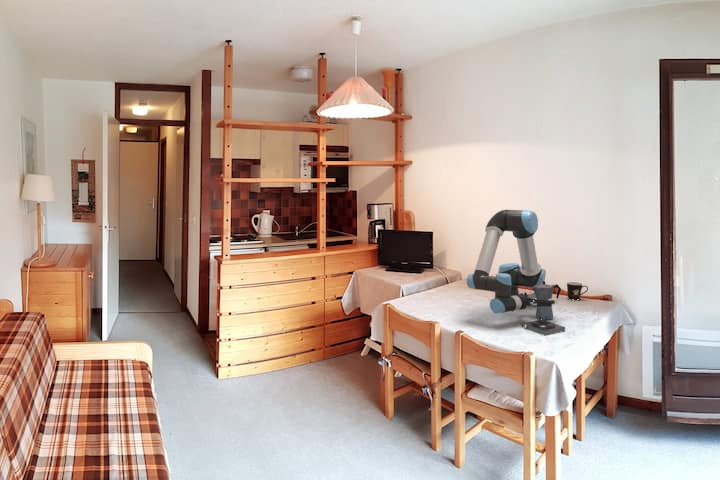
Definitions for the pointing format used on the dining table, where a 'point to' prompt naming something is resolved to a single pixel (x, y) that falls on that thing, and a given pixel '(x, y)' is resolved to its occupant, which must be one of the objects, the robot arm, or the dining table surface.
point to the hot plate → (543, 327)
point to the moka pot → (544, 293)
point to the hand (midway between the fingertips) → (546, 297)
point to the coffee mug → (574, 290)
